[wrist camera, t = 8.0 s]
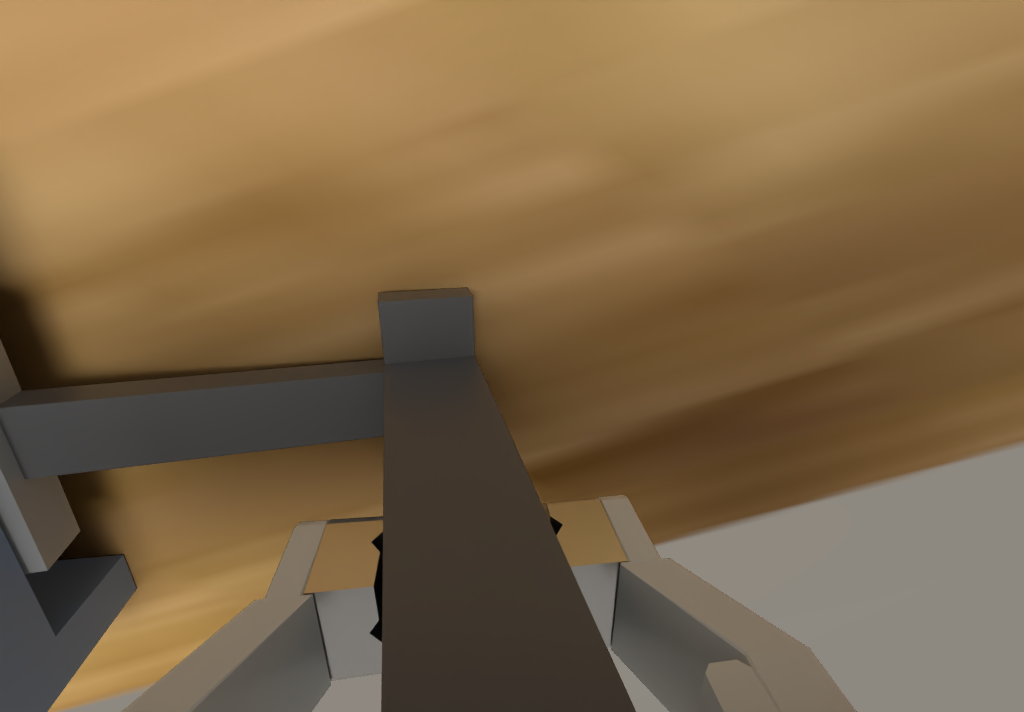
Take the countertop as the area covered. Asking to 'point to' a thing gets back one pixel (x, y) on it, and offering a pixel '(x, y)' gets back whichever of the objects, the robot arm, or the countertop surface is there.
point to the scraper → (406, 501)
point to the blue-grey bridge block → (53, 623)
